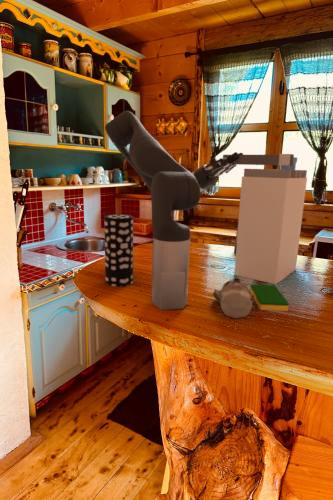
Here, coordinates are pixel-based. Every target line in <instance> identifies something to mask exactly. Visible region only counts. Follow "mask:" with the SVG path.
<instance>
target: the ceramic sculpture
mask: <svg viewBox="0 0 333 500" xmlns="http://www.w3.org/2000/svg"><path fill="white" fill-rule="evenodd" d="M212 295H213V298H214V299H215V300H216V301H218V302H219V303H220V308H221V310H222V313H223V314H225V316H227V317H229V318H232V319H239V318H245V317H247V316H248V315H249V314H250V312H251V310H252V308H253V300H255V299H254V295H252V294H251V292H250V290H248V287H247V285H246V284H245V283H244V282H243V281H241V280H240V279H239V278H238V277H236V278H233V279H232V280H228V281H226V282H225V283H224V284H223V286H222V287H221V290H218V289H214V291H213V292H212Z"/></svg>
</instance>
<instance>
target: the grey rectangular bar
mask: <svg viewBox="0 0 333 500" xmlns="http://www.w3.org/2000/svg"><path fill="white" fill-rule="evenodd" d="M230 155H231V154H222V158H223V159H224V158H226V157H229V156H230ZM294 155H295V153H294V154H293V153H279V154H243V155H239V159H237V160H236V161H234V162H232V163H231V165H232V164H236V165H245V166H246V165H247V166H248V165H249V166H250V165H251V166H281V165H290V166H293V159H294V157H295V156H294ZM229 164H230V163H229Z"/></svg>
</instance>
